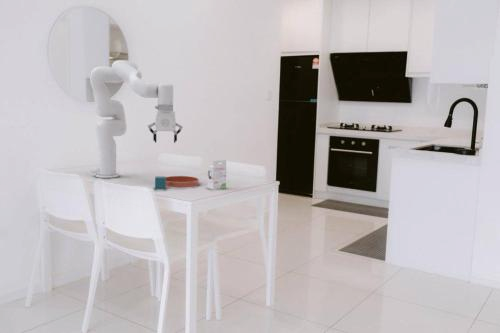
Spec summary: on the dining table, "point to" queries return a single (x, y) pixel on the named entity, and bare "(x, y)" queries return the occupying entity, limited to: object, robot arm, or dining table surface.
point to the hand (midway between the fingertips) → (165, 142)
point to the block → (160, 182)
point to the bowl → (181, 181)
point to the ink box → (217, 175)
